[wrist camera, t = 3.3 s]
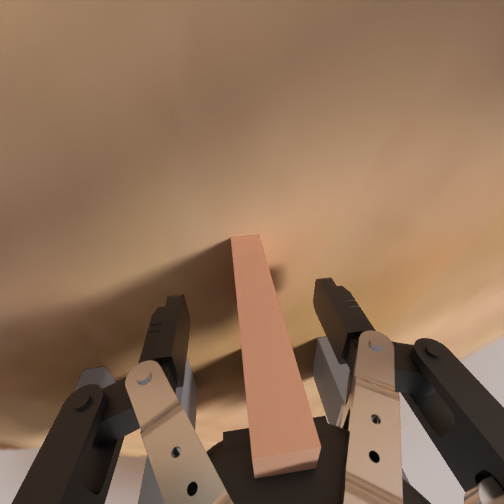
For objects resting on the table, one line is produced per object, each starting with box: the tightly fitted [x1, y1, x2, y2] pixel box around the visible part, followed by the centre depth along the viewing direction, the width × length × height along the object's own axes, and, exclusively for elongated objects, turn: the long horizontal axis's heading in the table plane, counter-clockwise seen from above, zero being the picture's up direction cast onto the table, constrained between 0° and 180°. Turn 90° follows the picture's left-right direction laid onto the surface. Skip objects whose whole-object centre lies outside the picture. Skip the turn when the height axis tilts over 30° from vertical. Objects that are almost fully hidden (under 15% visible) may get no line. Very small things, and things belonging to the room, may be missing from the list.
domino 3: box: [312, 337, 410, 484], centre depth 17 cm, size 2×5×10 cm, turn 3°
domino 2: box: [231, 235, 321, 479], centre depth 11 cm, size 2×5×10 cm, turn 3°
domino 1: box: [138, 358, 197, 504], centre depth 16 cm, size 2×5×10 cm, turn 3°
